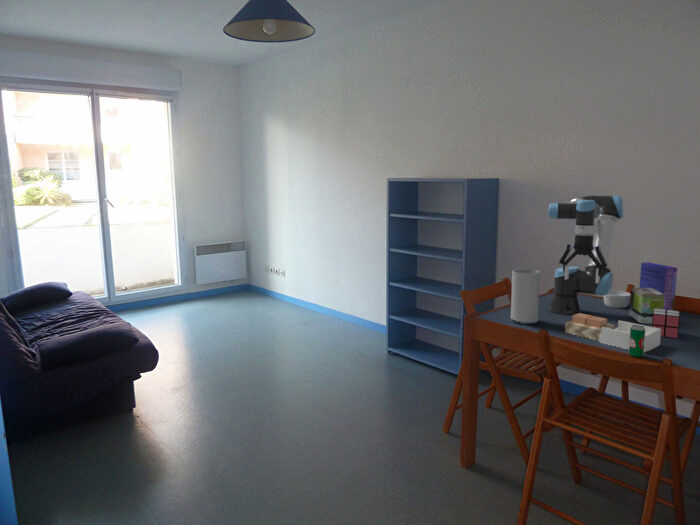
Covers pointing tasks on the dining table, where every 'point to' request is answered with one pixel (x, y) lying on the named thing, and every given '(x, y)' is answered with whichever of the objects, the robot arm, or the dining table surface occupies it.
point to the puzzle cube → (666, 322)
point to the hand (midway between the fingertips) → (581, 280)
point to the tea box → (645, 304)
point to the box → (622, 336)
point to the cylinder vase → (525, 295)
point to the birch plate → (585, 330)
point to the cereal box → (660, 281)
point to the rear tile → (580, 318)
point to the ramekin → (617, 299)
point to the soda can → (637, 340)
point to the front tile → (596, 321)
